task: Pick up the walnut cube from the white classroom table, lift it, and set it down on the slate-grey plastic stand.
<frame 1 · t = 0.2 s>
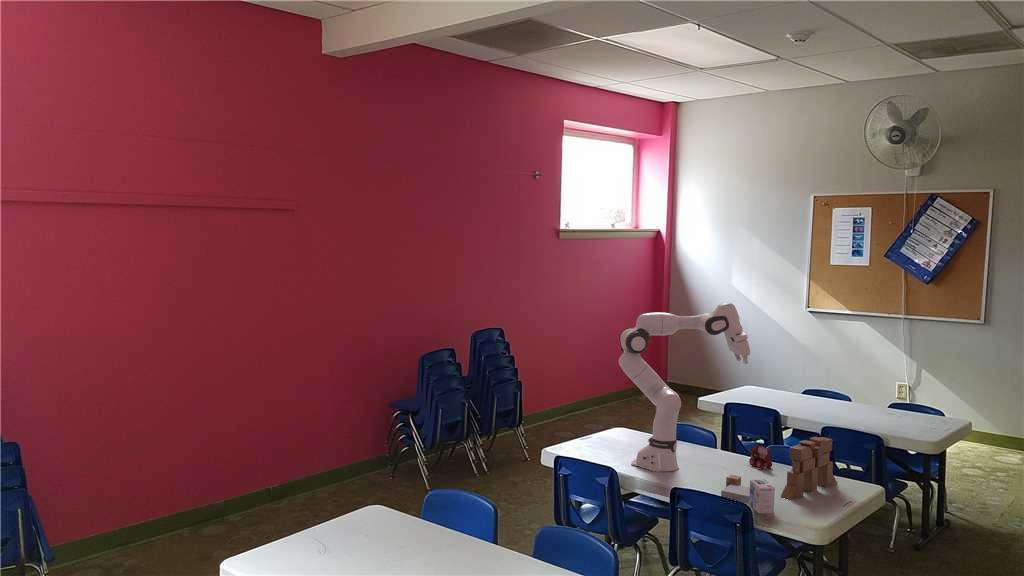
hand: (742, 361, 380), 52 cm above the table, tool tilted 20°, fingers open, 8 cm apart
walnut cube: (733, 487, 352), on the table
stand: (739, 495, 341), on the table
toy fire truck: (760, 467, 385), on the table
light bulb box: (761, 509, 325), on the table
wooden robot: (809, 490, 350), on the table
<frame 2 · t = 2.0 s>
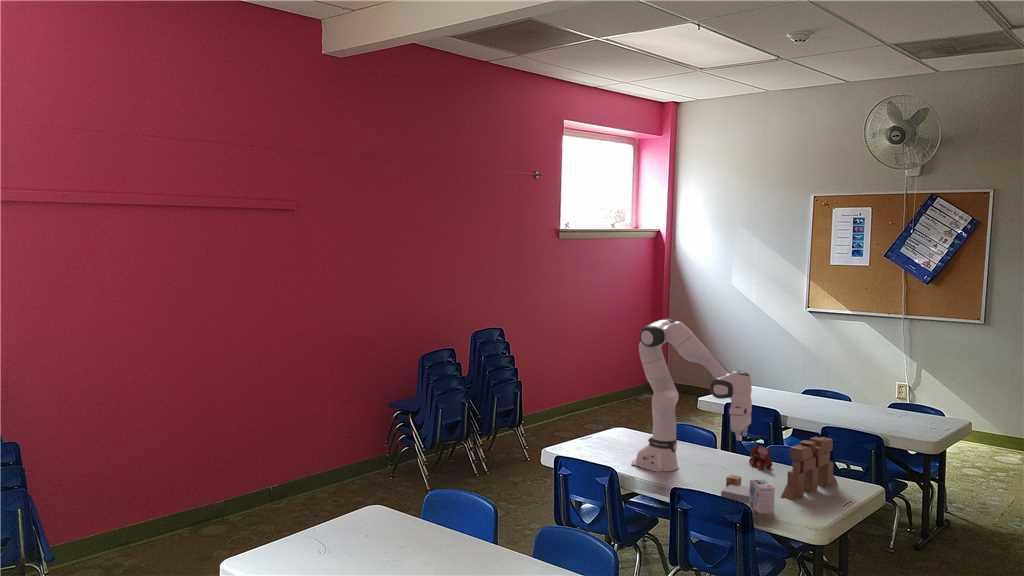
hand: (741, 437, 352), 22 cm above the table, tool pointing down, fingers open, 8 cm apart
nothing on the table moved.
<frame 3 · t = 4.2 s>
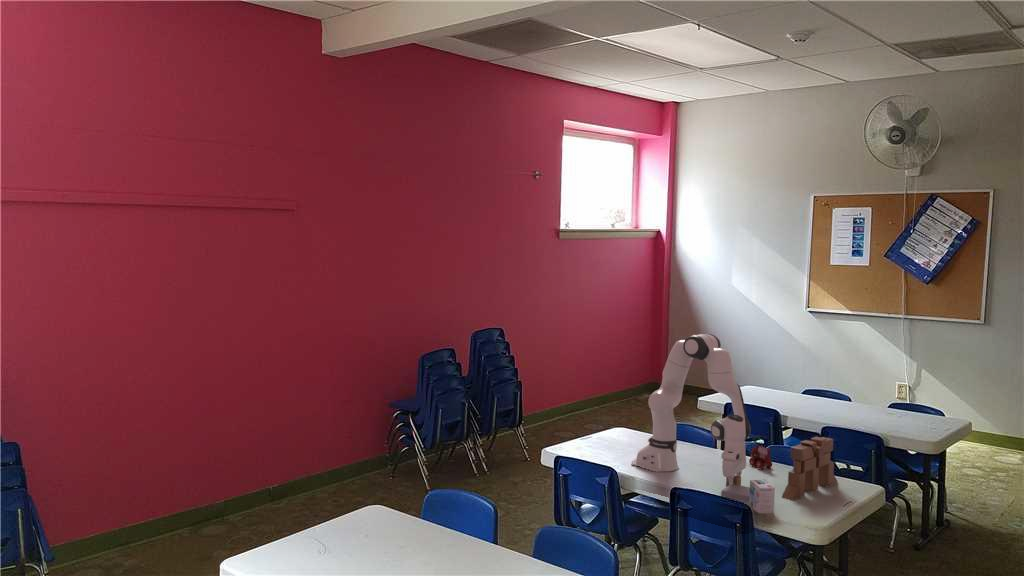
hand: (734, 482, 351), 2 cm above the table, tool pointing down, fingers open, 7 cm apart
nothing on the table moved.
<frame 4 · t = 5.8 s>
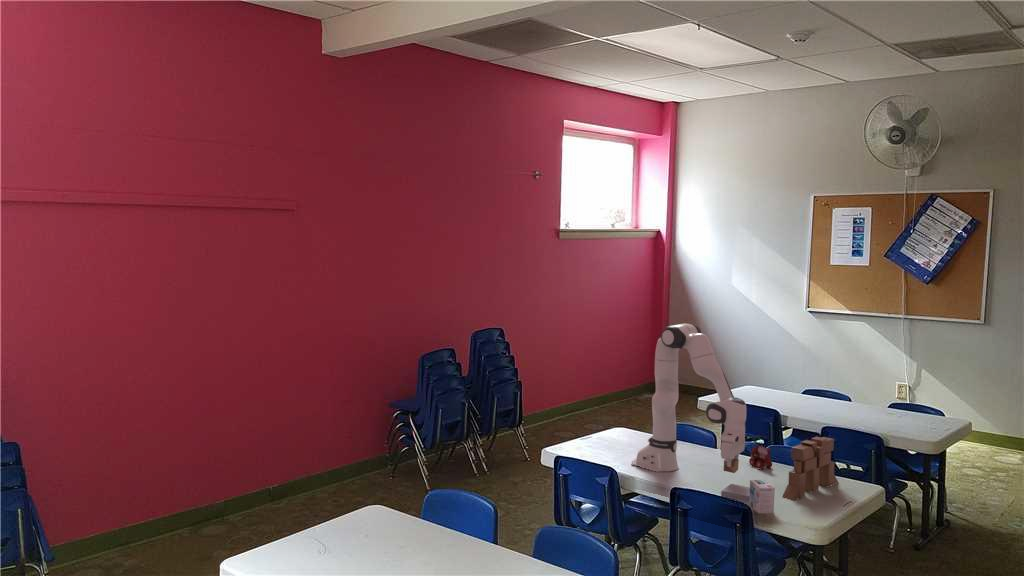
hand: (732, 464, 351), 10 cm above the table, tool pointing down, fingers closed on walnut cube, 5 cm apart
walnut cube: (730, 470, 352), point 8 cm above the table, tilted 6°, touching gripper
everything else where it was.
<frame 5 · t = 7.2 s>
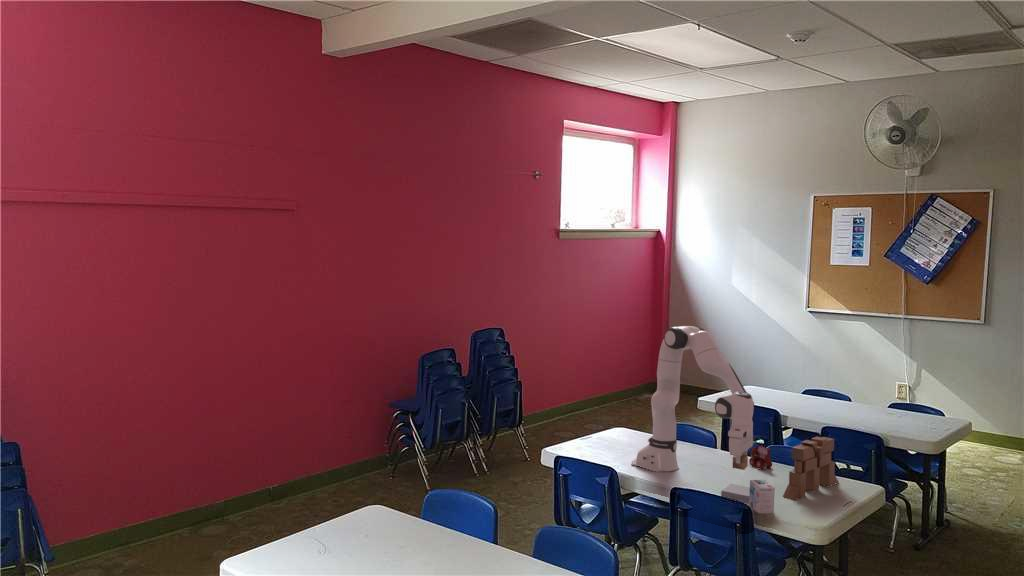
hand: (741, 461, 340), 15 cm above the table, tool pointing down, fingers closed on walnut cube, 5 cm apart
walnut cube: (740, 466, 341), point 12 cm above the table, tilted 6°, touching gripper
when the fingers open (5 cm above the table, at t = 9.2 s): walnut cube stays where it is, resting on stand.
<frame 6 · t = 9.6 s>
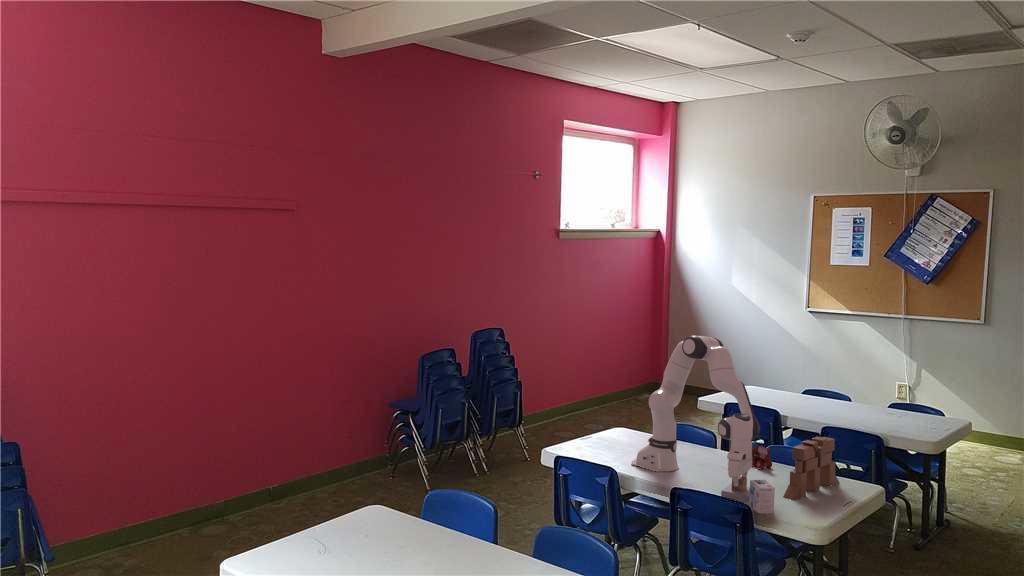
hand: (740, 483, 341), 5 cm above the table, tool pointing down, fingers open, 8 cm apart
walnut cube: (739, 489, 341), point 2 cm above the table, touching stand
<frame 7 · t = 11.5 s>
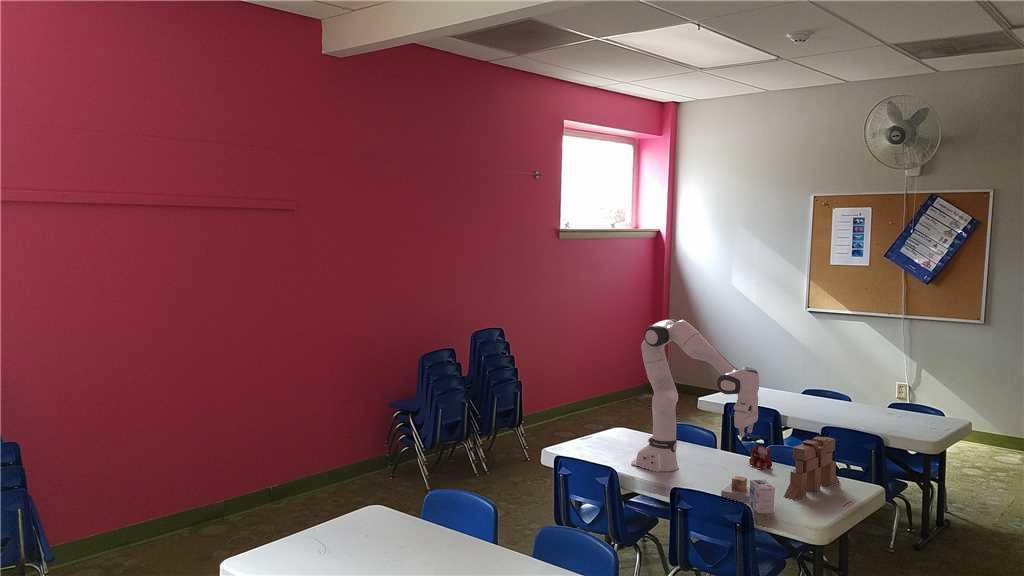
hand: (745, 434, 351), 24 cm above the table, tool pointing down, fingers open, 8 cm apart
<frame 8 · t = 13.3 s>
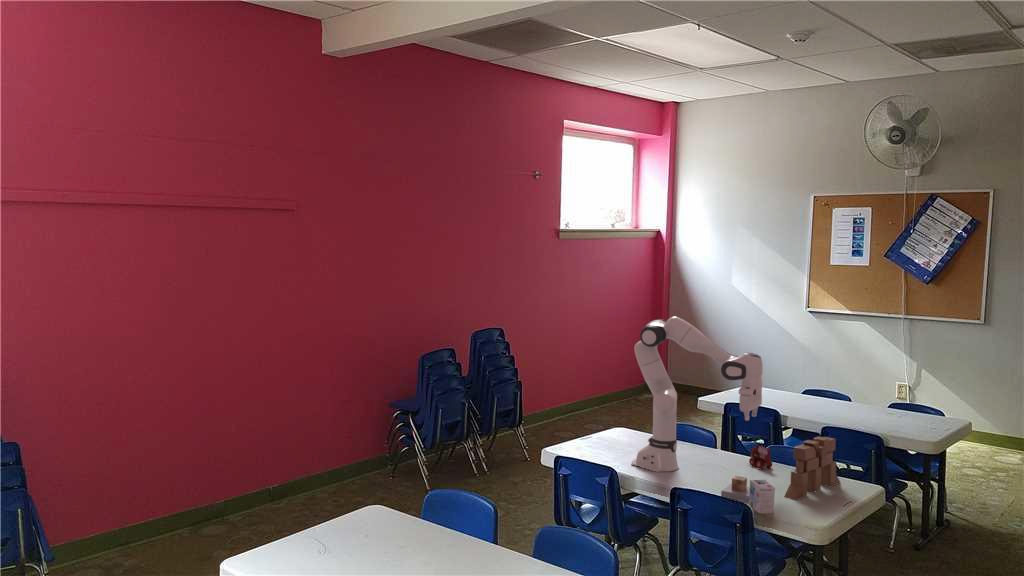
hand: (750, 418, 360), 29 cm above the table, tool pointing down, fingers open, 8 cm apart
at the end: walnut cube inside the target area on the stand (0.6 cm from its centre), point 2.5 cm above the stand's base; walnut cube tilted 0°; the gripper is holding nothing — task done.
